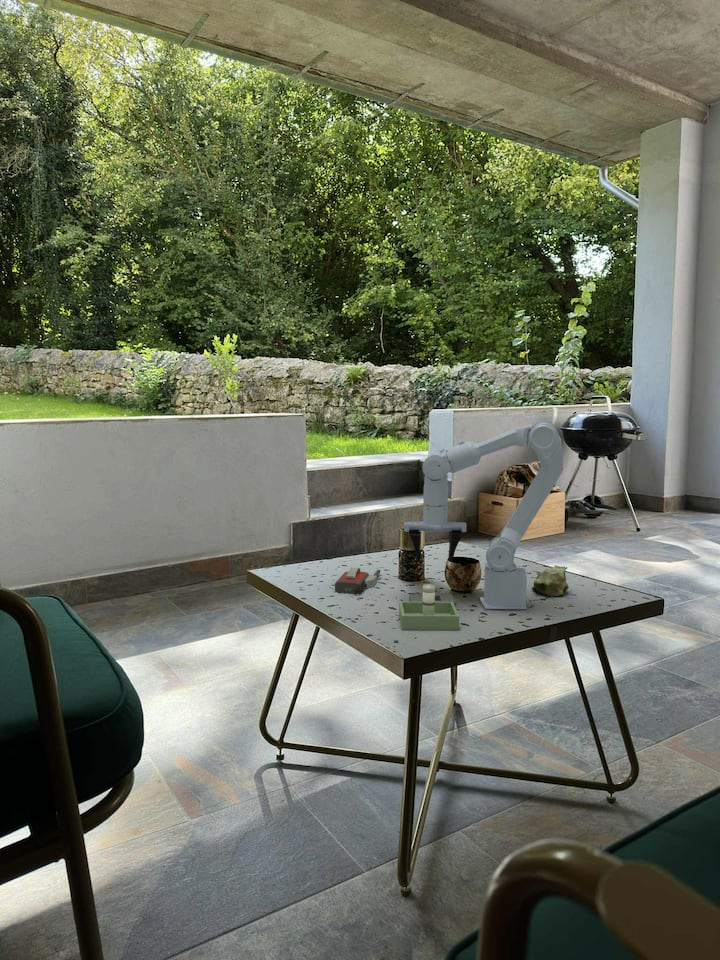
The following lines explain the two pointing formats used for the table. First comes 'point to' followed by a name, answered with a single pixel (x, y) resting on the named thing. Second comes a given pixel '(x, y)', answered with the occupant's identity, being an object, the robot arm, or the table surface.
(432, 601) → the cylinder
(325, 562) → the table surface
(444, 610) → the parts tray
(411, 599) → the fuse block
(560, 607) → the table surface
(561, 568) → the green rock
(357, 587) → the red belt-clip case
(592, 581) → the table surface
